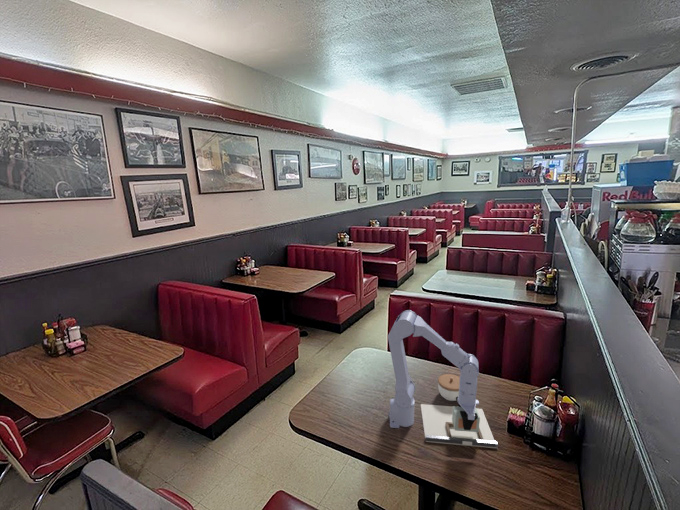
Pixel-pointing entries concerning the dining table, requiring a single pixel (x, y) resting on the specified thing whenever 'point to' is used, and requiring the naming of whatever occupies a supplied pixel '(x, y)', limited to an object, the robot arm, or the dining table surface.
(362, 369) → the dining table surface
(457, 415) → the carton
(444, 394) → the lidded jar
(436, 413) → the white square tray
